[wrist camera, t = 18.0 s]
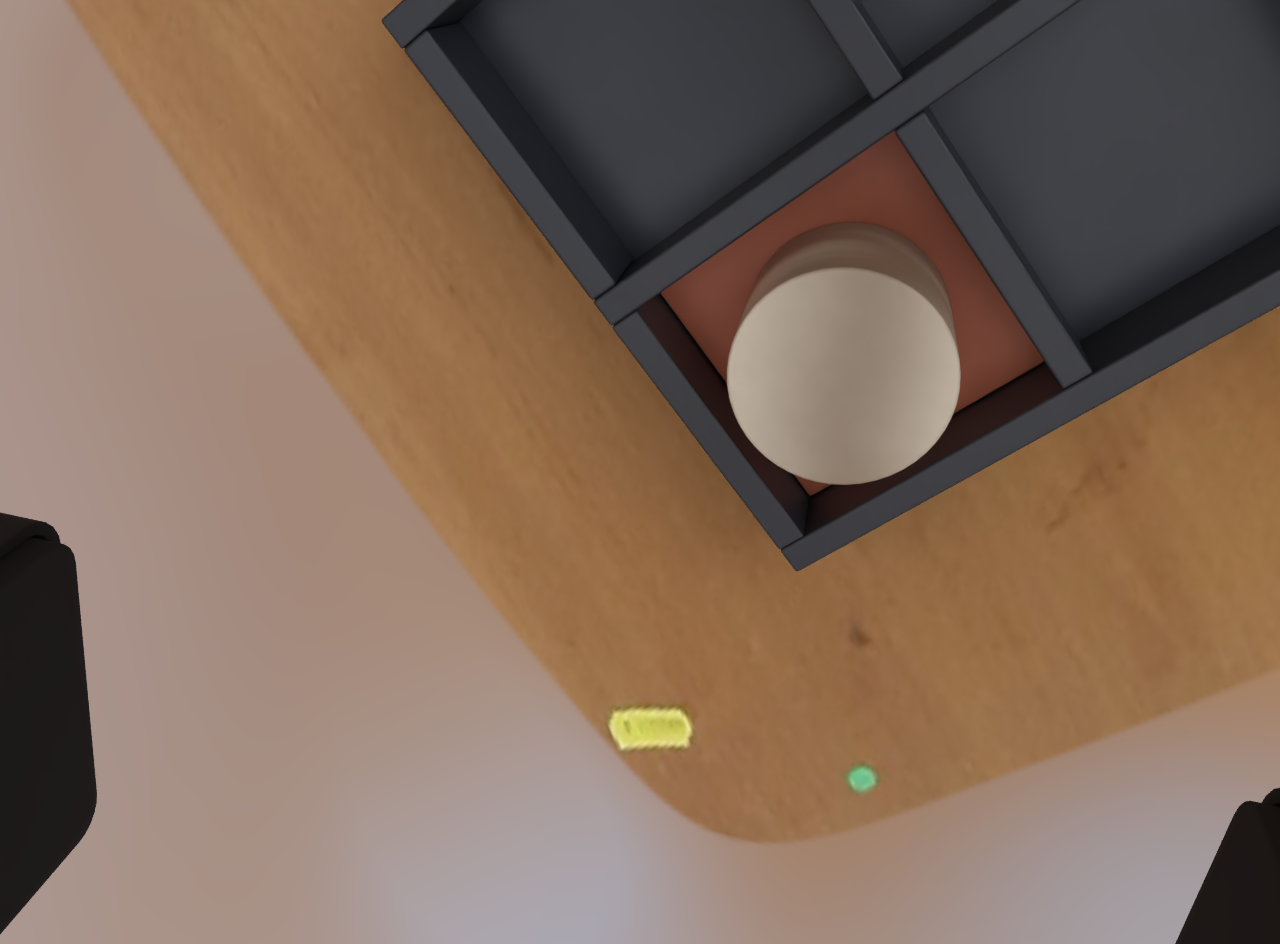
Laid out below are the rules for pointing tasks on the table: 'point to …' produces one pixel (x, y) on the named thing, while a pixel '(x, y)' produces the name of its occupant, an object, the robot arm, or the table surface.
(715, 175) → the grid
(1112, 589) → the table surface
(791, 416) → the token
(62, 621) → the robot arm
